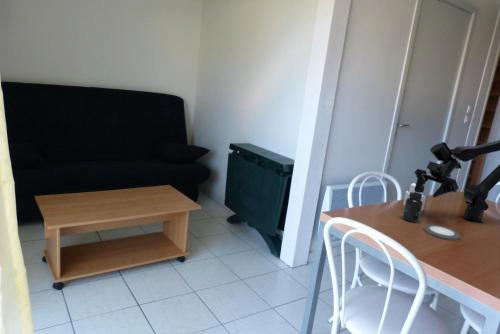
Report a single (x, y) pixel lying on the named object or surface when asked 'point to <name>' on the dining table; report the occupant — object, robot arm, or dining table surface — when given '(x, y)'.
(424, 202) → the medicine bottle
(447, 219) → the dining table surface
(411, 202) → the supplement bottle
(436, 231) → the trivet
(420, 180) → the robot arm
